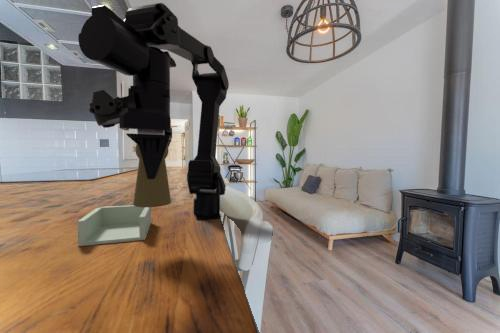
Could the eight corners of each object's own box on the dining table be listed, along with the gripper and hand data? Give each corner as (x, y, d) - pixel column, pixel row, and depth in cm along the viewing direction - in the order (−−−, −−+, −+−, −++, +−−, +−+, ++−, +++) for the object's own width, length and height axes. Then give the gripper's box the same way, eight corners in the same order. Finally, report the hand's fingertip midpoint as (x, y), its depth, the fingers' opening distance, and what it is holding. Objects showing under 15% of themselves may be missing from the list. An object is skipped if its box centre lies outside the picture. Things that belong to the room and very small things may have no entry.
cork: (127, 207, 35) (126, 138, 34) (139, 200, 41) (138, 140, 40) (168, 206, 36) (167, 139, 35) (173, 199, 42) (173, 141, 41)
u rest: (151, 222, 54) (150, 204, 53) (145, 239, 43) (145, 216, 43) (98, 226, 50) (98, 207, 50) (78, 246, 40) (77, 221, 39)
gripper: (112, 94, 43) (113, 173, 44) (68, 54, 26) (72, 186, 27) (172, 99, 47) (172, 172, 48) (170, 68, 29) (170, 184, 30)
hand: (152, 177), depth 38 cm, fingers closed on cork, 4 cm apart
